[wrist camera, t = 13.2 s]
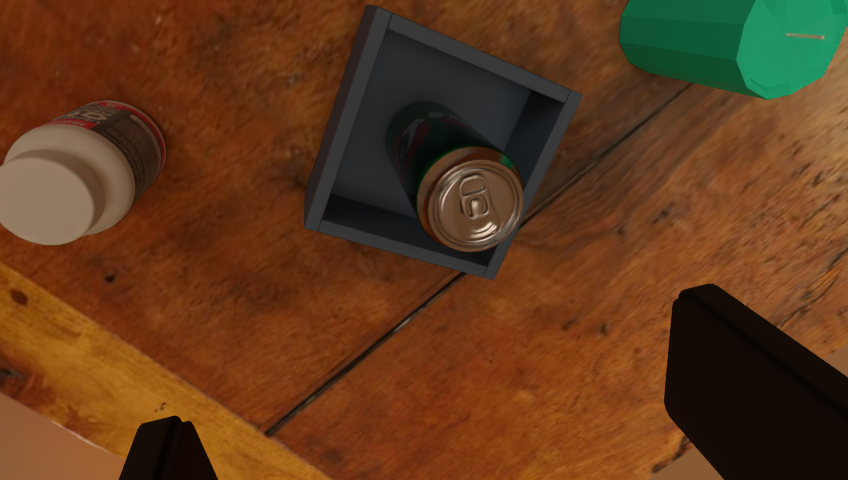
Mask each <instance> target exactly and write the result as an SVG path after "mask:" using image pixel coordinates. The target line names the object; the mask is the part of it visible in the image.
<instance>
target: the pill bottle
mask: <svg viewBox="0 0 848 480" xmlns="http://www.w3.org/2000/svg"><path fill="white" fill-rule="evenodd" d="M165 160H166V145H165V141H164V138H163V135H162V133H161V131H160V130H159V128H158V127H157V125H156V124H155V123H154V121H153V120H152V119H151V118H150V117H148V116H147V115H146V114H145V113H143V112H142V111H141V110H139V109H137V108H135V107H133V106H131V105H129V104H125V103H122V102H118V101H111V100H104V101H96V102H92V103H89V104H86V105H84V106H81V107H79V108H77V109H75V110H73V111H71V112H69V113H67V114H64V115H62V116H60V117H58V118H56V119H54V120H52V121H49V122H48V123H45V124H43V125H40V126H38V127H36V128H34V129H32V130H30V131H29V132H27V133H25V134H24V135H23V136H21V137H20V138H19V139H18V140H17V141H16V142H15V143H14V144H13V145H12V146H11V148H10V150H9V151H8V153H7V156H6V158H5V161H4V164H3V165H1V166H0V223H1V224H2V225H3V226H4V227H5V228H7V229H8V230H9V231H10V232H12V233H13V234H15V235H17V236H18V237H20V238H22V239H25V240H27V241H30V242H33V243H37V244H42V245H60V244H65V243H69V242H71V241H74V240H76V239H78V238H79V237H81V236H83V235H90V234H95V233H99V232H102V231H104V230H106V229H108V228H110V227H112V226H113V225H115V224H116V223H117V222H118V221H120V220H121V219H122V218H123V217H124V216H125V215H126V213H127V212H128V211H129V210H130V208H131V207H132V206H133V205H134V204H135V202H136V201H137V200H138V199H139V198H140V197H141V196H142V194H143V193H144V192H145V191H146V190H147V189H148V188H149V187H150V186H151V184H152V183H153V182H154V181H155V180H156V178H157V177H158V176H159V174H160V173H161V171H162V169H163V167H164V164H165Z"/></svg>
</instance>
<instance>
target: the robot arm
mask: <svg viewBox="0 0 848 480" xmlns="http://www.w3.org/2000/svg"><path fill="white" fill-rule="evenodd" d="M664 404H665V408H666V411H667V413H668V415H669V416H670V418H671V419H672V420H673V421H674V423H675V424H676V425H677V426H678V427H679V428H680V429H681V431H682V432H683V433H684V434H685V435H686V436H687V438H688V439H689V440H690V441H691V442H692V443H693V444H694V446H695V447H696V448H697V449H698V450H699V451H700V452H701V454H702V455H703V456H704V457H705V458H706V459H707V460H708V461H709V463H710V464H711V465H712V466H713V467H714V469H716V471H717V472H718V473H719V474H720V475H721V476H722V478H723V479H724V480H848V377H847V376H845V375H844V374H842V373H841V372H839V371H838V370H837V369H835V368H834V367H832V366H831V365H829V364H828V363H826V362H825V361H824V360H822V359H821V358H820V357H818V356H817V355H815V354H814V353H812V352H811V351H810V350H808V349H807V348H805V347H804V346H802V345H801V344H800V343H798V342H797V341H795V340H794V339H792V338H791V337H790V336H788V335H787V334H785V333H784V332H782V331H781V330H780V329H778V328H777V327H775V326H774V325H772V324H771V323H770V322H768V321H767V320H765V319H764V318H763V317H761V316H760V315H758V314H757V313H755V312H754V311H753V310H751V309H750V308H748V307H747V306H745V305H744V304H743V303H741V302H740V301H738V300H737V299H735V298H734V297H733V296H731V295H730V294H728V293H727V292H725V291H724V290H723V289H721V288H720V287H718V286H716V285H714V284H705V285H701V286H697V287H693V288H689V289H685V290H683V291H681V292H680V294H679V297H678V299H676V300H675V301H674V302H673V306H672V316H671V327H670V338H669V350H668V361H667V372H666V383H665V395H664ZM119 480H218V478H217V476H216V474H215V472H214V469H213V467H212V465H211V463H210V460H209V458H208V456H207V454H206V452H205V449H204V447H203V445H202V443H201V441H200V438H199V436H198V434H197V432H196V429H195V427H194V425H193V424H192V422H190V421H186V422H182V421H181V419H180V418H179V417H178V416H171V417H167V418H163V419H159V420H155V421H151V422H147V423H143V424H141V425H140V426H139V428H138V430H137V432H136V435H135V438H134V440H133V443H132V446H131V448H130V451H129V454H128V456H127V459H126V462H125V464H124V467H123V470H122V472H121V475H120V478H119Z"/></svg>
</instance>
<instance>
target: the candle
mask: <svg viewBox="0 0 848 480" xmlns="http://www.w3.org/2000/svg"><path fill="white" fill-rule="evenodd" d="M847 24H848V0H629V2H628V4H627V6H626V8H625V10H624V12H623V14H622V15H621V27H620V44H621V46H622V48H623V50H624V53H625V55H626V57H627V59H628V61H629V63H631V64H633V65H635V66H637V67H639V68H640V69H642V70H644V71H646V72H649V73H653V74H657V75H662V76H666V77H670V78H675V79H679V80H683V81H688V82H692V83H696V84H701V85H705V86H710V87H714V88H718V89H723V90H727V91H731V92H736V93H740V94H744V95H749V96H753V97H757V98H762V99H766V100H769V99H773V98H778V97H782V96H786V95H790V94H792V93H794V92H796V91H797V90H799V89H801V88H803V87H805V86H806V85H808V84H810V83H812V82H813V81H815V80H817V79H819V78H821V77H822V76H823V75H824V73H825V71H826V69H827V67H828V65H829V64H830V62H831V60H832V58H833V56H834V54H835V52H836V50H837V48H838V46H839V44H840V41H841V39H842V36H843V34H844V32H845V29H846V27H847Z"/></svg>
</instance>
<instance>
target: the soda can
mask: <svg viewBox="0 0 848 480" xmlns="http://www.w3.org/2000/svg"><path fill="white" fill-rule="evenodd" d="M386 149H387V154H388V157H389V160H390V162H391V164H392V166H393V168H394V170H395V172H396V174H397V177H398V179H399V181H400V183H401V185H402V187H403V189H404V191H405V194H406V196H407V198H408V200H409V202H410V204H411V206H412V208H413V211H414V213H415V215H416V217H417V219H418V221H419V223H420V225H421V227H422V228H423V230H424V231H425V232H426V233H427V235H428V236H429V237H431V238H432V239H433V240H434V241H436V242H437V243H439V244H441V245H443V246H446V247H449V248H453V249H456V250H459V251H463V252H477V251H482V250H486V249H489V248H491V247H493V246H495V245H497V244H499V243H500V242H501V241H503V240H504V239H505V238H506V237H507V236H508V235H510V233H511V232H512V231H513V230H514V228H515V227H516V225H517V223H518V221H519V219H520V217H521V214H522V210H523V183H522V179H521V175H520V173H519V170H518V168H517V167H516V165H515V164H514V162H513V161H512V160H511V159H510V158H509V157H508V156H507V155H506V154H505V153H504V152H502V151H501V150H500V149H499V148H497V147H496V146H495V145H494V144H493V143H491V142H490V141H489V140H488V139H486V138H485V137H484V136H483V135H482V134H480V133H479V132H478V131H477V130H476V129H474V128H473V127H472V126H471V125H469V124H468V123H467V122H466V121H465V120H463V119H462V118H461V117H460V116H458V115H457V114H456V113H455V112H454V111H452V110H451V109H450V108H448V107H446V106H444V105H442V104H439V103H436V102H420V103H416V104H413V105H410V106H409V107H407V108H405V109H404V110H403V111H401V112H400V113H399V114H398V115H397V116H396V117H395V119H394V120H393V122H392V123H391V125H390V127H389V130H388V133H387V138H386Z"/></svg>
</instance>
